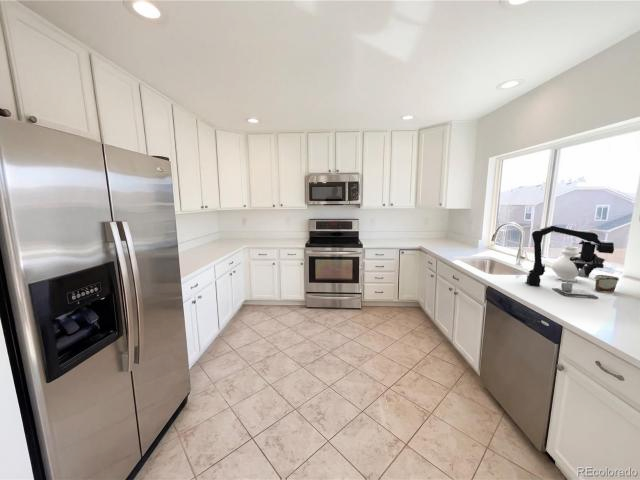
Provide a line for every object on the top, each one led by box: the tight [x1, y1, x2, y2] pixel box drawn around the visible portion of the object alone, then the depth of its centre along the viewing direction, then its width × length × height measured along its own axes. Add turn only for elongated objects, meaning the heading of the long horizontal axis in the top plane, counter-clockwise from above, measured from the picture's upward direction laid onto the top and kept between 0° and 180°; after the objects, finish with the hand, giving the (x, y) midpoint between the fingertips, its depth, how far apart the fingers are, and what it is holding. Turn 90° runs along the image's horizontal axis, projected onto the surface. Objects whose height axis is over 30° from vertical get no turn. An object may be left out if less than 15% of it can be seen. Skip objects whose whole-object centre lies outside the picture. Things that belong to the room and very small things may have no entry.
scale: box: [551, 287, 599, 300], centre depth 158 cm, size 17×12×1 cm
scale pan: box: [555, 287, 596, 296], centre depth 158 cm, size 15×9×1 cm, turn 75°
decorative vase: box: [551, 245, 584, 282], centre depth 185 cm, size 18×18×25 cm
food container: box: [594, 274, 620, 293], centre depth 163 cm, size 12×6×10 cm, turn 84°
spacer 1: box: [560, 281, 573, 292], centre depth 158 cm, size 5×5×5 cm
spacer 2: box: [577, 268, 590, 279], centre depth 158 cm, size 5×5×5 cm
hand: (583, 274), depth 158 cm, fingers closed on spacer 2, 5 cm apart
